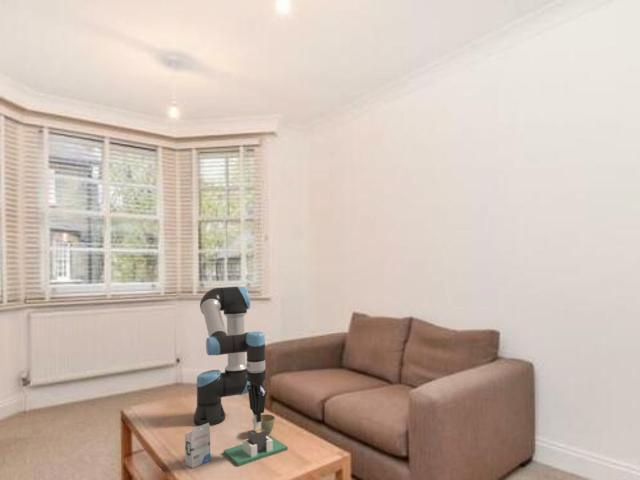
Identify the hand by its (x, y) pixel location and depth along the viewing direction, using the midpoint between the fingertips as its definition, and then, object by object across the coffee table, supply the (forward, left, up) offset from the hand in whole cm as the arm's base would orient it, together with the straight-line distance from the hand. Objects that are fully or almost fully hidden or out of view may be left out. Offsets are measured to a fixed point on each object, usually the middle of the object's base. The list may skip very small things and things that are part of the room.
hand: (257, 429), depth 175 cm
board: (-2, 0, -10) cm, 10 cm away
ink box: (-8, -22, -10) cm, 25 cm away
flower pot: (-15, +11, -10) cm, 21 cm away
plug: (0, 0, -8) cm, 8 cm away
